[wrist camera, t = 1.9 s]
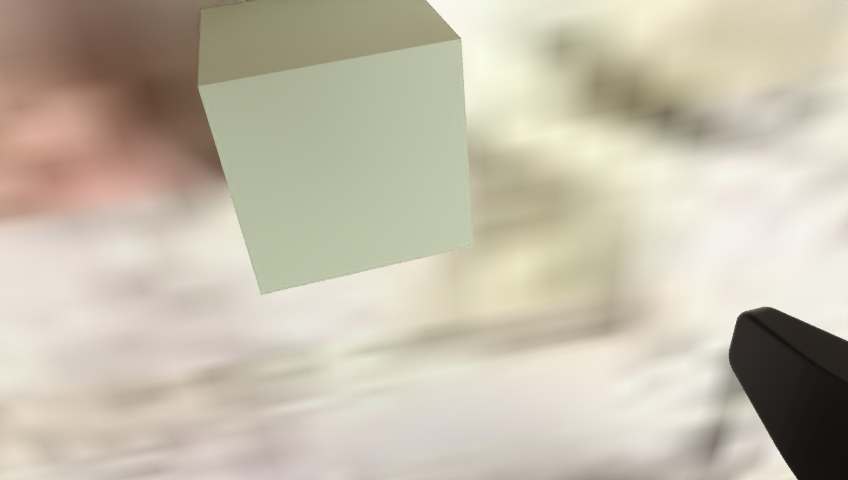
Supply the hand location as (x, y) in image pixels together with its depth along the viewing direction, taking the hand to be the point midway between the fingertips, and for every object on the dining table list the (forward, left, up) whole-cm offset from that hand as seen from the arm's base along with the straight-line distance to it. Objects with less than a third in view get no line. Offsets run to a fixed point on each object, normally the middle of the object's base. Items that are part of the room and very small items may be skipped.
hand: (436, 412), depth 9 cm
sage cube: (0, 0, -12) cm, 12 cm away
